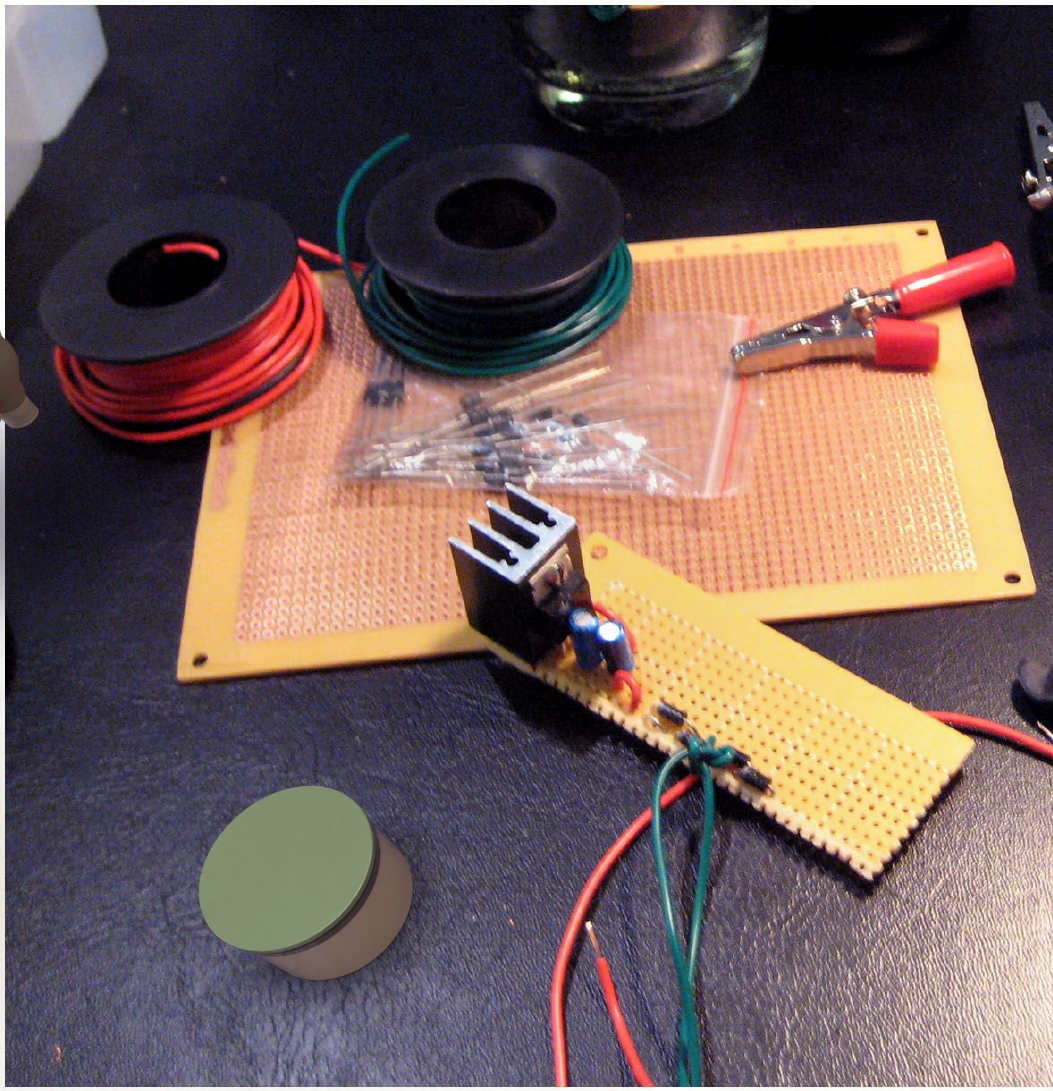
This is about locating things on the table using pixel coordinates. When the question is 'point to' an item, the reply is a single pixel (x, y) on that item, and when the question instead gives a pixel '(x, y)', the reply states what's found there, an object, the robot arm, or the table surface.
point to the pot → (306, 884)
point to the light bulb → (13, 390)
